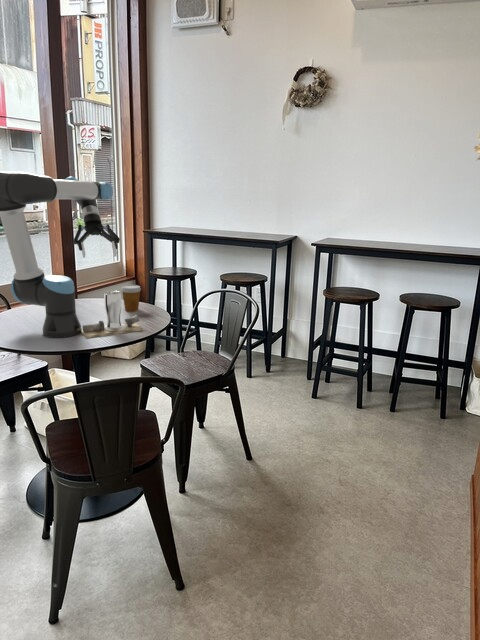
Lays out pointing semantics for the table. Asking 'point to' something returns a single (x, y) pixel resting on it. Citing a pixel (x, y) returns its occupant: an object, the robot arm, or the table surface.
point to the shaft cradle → (102, 330)
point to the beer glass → (113, 308)
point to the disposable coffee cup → (131, 297)
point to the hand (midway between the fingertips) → (100, 255)
